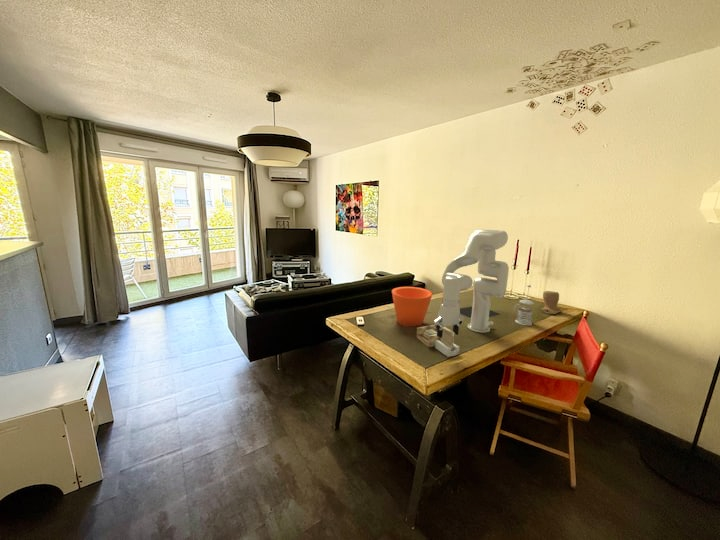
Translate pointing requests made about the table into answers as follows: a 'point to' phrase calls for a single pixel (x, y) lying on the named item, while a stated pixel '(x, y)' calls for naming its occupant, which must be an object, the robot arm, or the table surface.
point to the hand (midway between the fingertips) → (447, 335)
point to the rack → (430, 338)
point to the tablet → (468, 312)
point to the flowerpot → (411, 305)
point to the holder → (446, 348)
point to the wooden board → (448, 337)
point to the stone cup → (550, 302)
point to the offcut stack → (428, 333)
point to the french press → (527, 310)
